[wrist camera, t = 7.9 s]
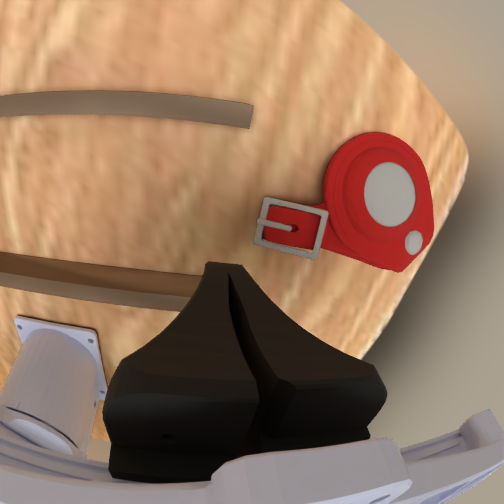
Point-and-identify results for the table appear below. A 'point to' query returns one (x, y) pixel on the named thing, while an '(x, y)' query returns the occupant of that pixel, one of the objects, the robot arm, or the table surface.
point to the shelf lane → (98, 276)
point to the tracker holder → (359, 207)
